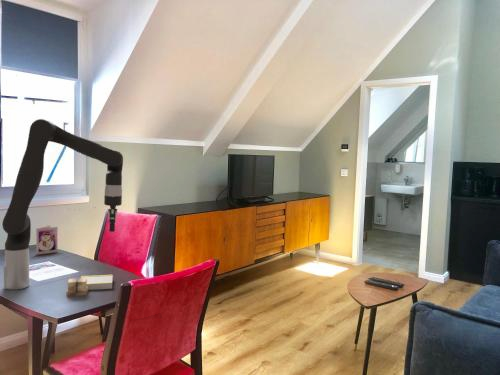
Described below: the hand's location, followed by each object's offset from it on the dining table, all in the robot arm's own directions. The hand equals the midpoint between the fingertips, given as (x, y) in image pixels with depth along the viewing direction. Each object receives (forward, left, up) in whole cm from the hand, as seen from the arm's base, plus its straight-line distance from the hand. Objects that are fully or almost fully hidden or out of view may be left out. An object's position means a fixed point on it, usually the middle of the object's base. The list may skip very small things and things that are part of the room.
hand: (112, 229), depth 188 cm
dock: (-7, -1, -26) cm, 26 cm away
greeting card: (-39, +65, -26) cm, 80 cm away
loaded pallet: (-14, -11, -26) cm, 31 cm away
